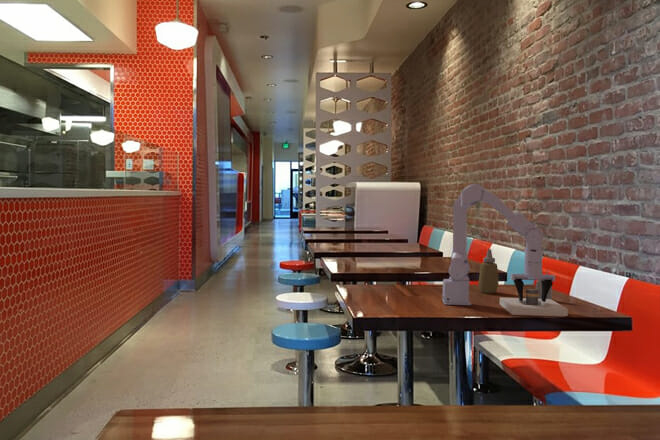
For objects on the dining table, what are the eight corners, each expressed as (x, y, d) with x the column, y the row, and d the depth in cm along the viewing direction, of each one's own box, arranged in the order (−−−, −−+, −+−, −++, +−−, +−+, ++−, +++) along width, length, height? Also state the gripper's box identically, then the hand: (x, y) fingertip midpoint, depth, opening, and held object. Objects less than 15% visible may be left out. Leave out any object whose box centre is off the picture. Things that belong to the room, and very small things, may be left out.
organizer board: (511, 314, 179) (512, 307, 179) (499, 304, 197) (499, 297, 196) (567, 316, 177) (567, 309, 177) (550, 305, 195) (550, 299, 195)
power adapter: (536, 299, 209) (537, 268, 208) (551, 300, 206) (552, 269, 205) (535, 300, 206) (536, 269, 206) (550, 301, 203) (551, 270, 203)
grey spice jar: (527, 311, 185) (527, 291, 185) (523, 308, 189) (524, 289, 189) (539, 311, 185) (540, 291, 184) (536, 309, 189) (536, 289, 189)
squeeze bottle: (500, 292, 223) (502, 249, 222) (495, 295, 216) (496, 250, 215) (481, 290, 227) (482, 248, 226) (475, 292, 220) (476, 249, 219)
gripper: (551, 261, 190) (549, 299, 190) (509, 260, 191) (508, 298, 191) (557, 263, 183) (556, 303, 183) (514, 262, 184) (513, 301, 184)
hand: (532, 300), depth 187 cm, fingers open, 7 cm apart
